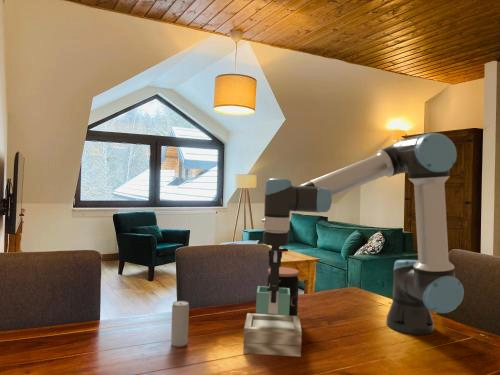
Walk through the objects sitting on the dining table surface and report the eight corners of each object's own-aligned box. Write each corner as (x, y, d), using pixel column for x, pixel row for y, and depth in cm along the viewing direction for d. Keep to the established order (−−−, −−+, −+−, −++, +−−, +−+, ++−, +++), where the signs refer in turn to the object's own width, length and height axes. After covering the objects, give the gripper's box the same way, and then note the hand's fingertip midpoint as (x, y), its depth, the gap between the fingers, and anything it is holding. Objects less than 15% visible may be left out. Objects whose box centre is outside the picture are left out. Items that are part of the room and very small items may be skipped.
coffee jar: (295, 329, 134) (297, 275, 133) (263, 326, 136) (265, 272, 135) (298, 319, 144) (300, 268, 144) (268, 316, 146) (270, 266, 146)
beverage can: (173, 348, 116) (175, 306, 115) (168, 342, 120) (170, 301, 120) (190, 345, 118) (191, 304, 118) (184, 339, 122) (185, 299, 122)
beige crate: (298, 338, 126) (299, 316, 126) (300, 356, 113) (301, 331, 113) (246, 335, 127) (247, 313, 127) (243, 353, 114) (243, 328, 114)
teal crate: (288, 308, 123) (289, 288, 123) (288, 315, 116) (290, 294, 116) (256, 305, 124) (258, 285, 124) (255, 313, 117) (256, 292, 117)
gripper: (264, 226, 130) (261, 298, 130) (262, 234, 110) (258, 319, 110) (288, 227, 129) (284, 299, 130) (290, 236, 109) (286, 321, 110)
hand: (272, 308), depth 120 cm, fingers closed on teal crate, 7 cm apart
